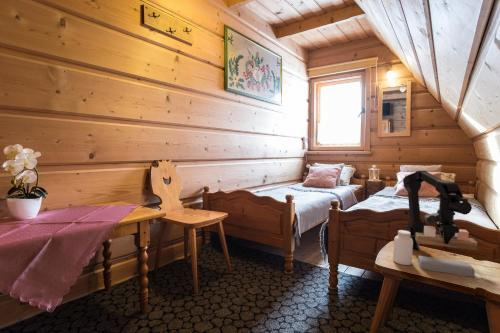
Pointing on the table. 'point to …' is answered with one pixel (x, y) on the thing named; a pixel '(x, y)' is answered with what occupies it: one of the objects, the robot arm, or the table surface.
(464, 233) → the block
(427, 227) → the block
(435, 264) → the block
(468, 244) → the tan long bar
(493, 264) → the table surface
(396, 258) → the pill bottle
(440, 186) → the robot arm
